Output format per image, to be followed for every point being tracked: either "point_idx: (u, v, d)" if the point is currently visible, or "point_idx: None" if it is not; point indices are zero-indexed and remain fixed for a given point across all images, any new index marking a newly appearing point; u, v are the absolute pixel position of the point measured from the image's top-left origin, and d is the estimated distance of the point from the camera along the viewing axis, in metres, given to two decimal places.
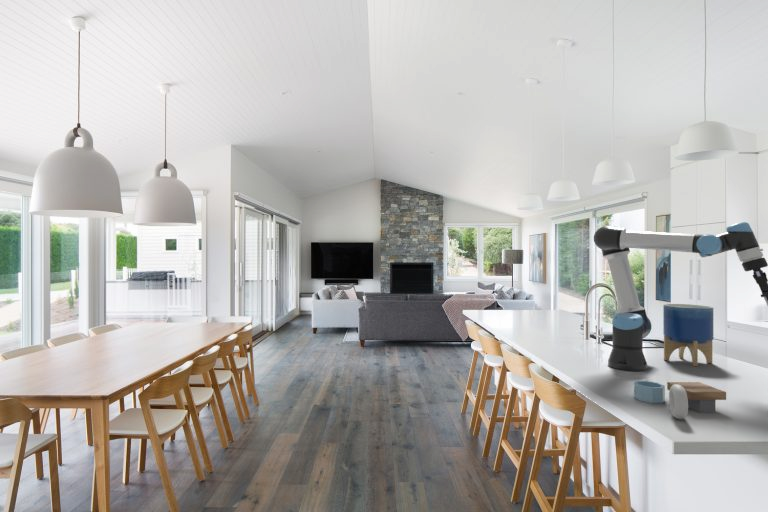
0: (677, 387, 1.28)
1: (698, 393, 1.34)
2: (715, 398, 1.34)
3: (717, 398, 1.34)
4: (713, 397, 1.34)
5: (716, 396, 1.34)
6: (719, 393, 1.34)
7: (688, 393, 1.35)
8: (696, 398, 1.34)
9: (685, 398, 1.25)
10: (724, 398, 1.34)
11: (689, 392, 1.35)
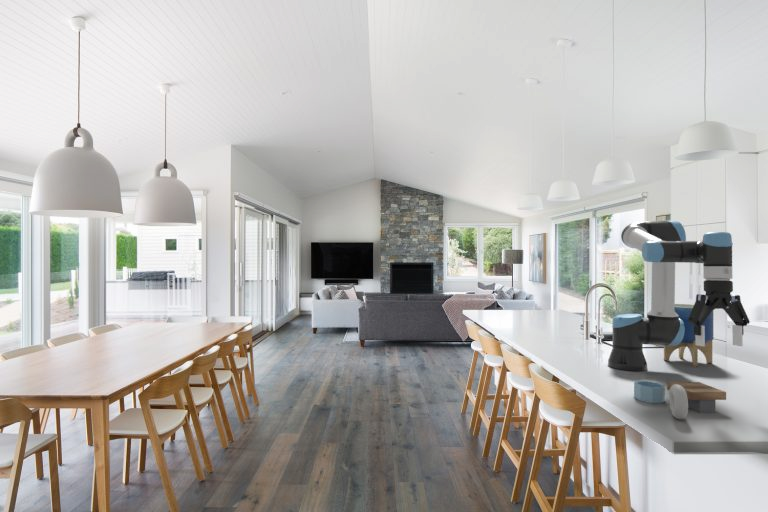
0: (677, 387, 1.28)
1: (698, 393, 1.34)
2: (715, 398, 1.34)
3: (717, 398, 1.34)
4: (713, 397, 1.34)
5: (716, 396, 1.34)
6: (719, 393, 1.34)
7: (688, 393, 1.35)
8: (696, 398, 1.34)
9: (685, 398, 1.25)
10: (724, 398, 1.34)
11: (689, 392, 1.35)
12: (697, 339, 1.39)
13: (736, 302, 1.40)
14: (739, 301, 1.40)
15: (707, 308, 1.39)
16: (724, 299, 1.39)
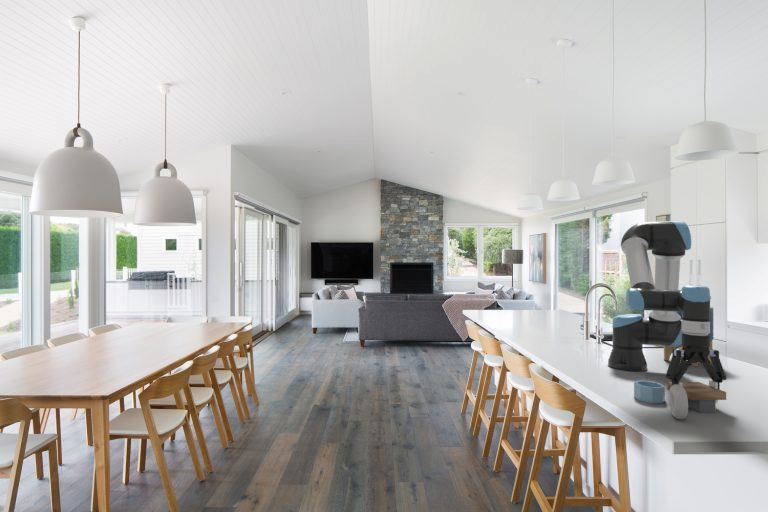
0: (677, 387, 1.28)
1: (698, 393, 1.34)
2: (715, 398, 1.34)
3: (717, 398, 1.34)
4: (713, 397, 1.34)
5: (716, 396, 1.34)
6: (719, 393, 1.34)
7: (688, 393, 1.35)
8: (696, 398, 1.34)
9: (685, 398, 1.25)
10: (724, 398, 1.34)
11: (689, 392, 1.35)
12: None
13: (714, 357, 1.39)
14: (717, 356, 1.39)
15: (684, 363, 1.39)
16: (701, 353, 1.38)
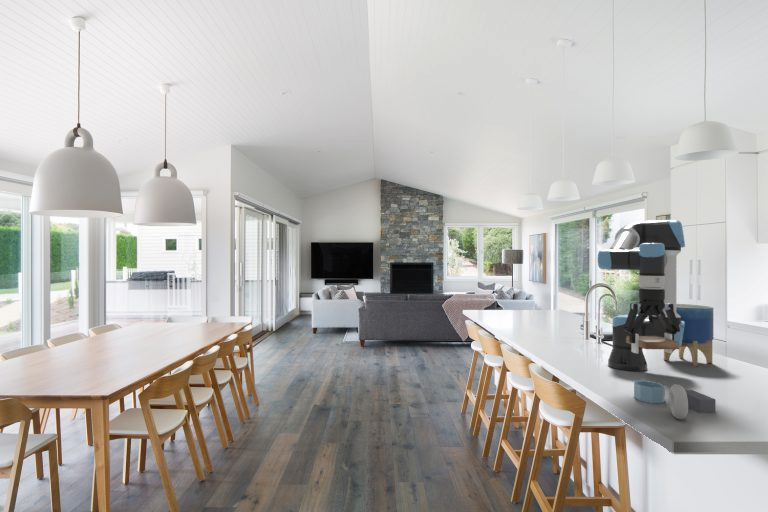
0: (677, 387, 1.28)
1: (653, 343, 1.42)
2: (669, 347, 1.42)
3: (670, 347, 1.42)
4: (667, 346, 1.42)
5: (670, 346, 1.42)
6: (672, 343, 1.42)
7: (643, 343, 1.43)
8: (651, 347, 1.42)
9: (685, 398, 1.25)
10: (677, 347, 1.42)
11: (644, 342, 1.42)
12: (632, 346, 1.48)
13: (669, 310, 1.47)
14: (672, 310, 1.47)
15: (640, 316, 1.47)
16: (656, 306, 1.46)
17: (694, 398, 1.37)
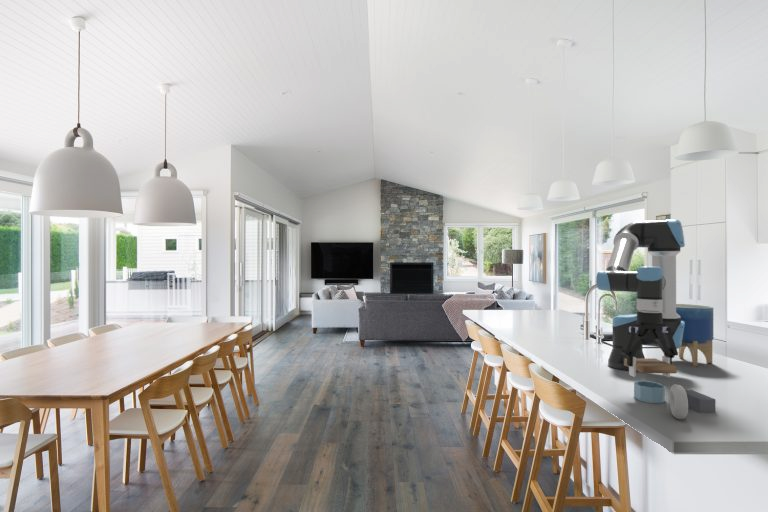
0: (677, 387, 1.28)
1: (650, 367, 1.42)
2: (666, 372, 1.42)
3: (668, 372, 1.42)
4: (664, 370, 1.42)
5: (667, 370, 1.42)
6: (670, 367, 1.42)
7: (641, 367, 1.43)
8: (648, 371, 1.42)
9: (685, 398, 1.25)
10: (674, 372, 1.42)
11: (642, 366, 1.43)
12: (630, 369, 1.48)
13: (667, 334, 1.47)
14: (670, 333, 1.47)
15: (638, 339, 1.47)
16: (654, 330, 1.46)
17: (694, 398, 1.37)
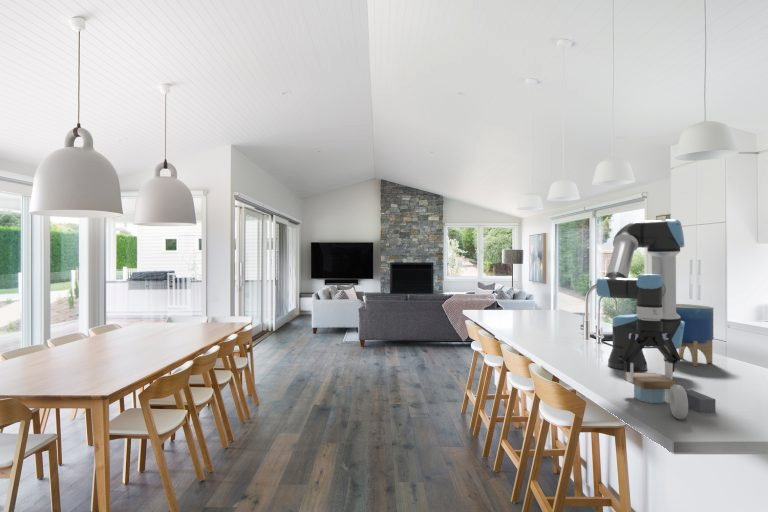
0: (677, 387, 1.28)
1: (650, 383, 1.42)
2: (666, 387, 1.42)
3: (668, 387, 1.42)
4: (664, 386, 1.42)
5: (667, 385, 1.42)
6: (670, 383, 1.42)
7: (641, 383, 1.43)
8: (648, 387, 1.42)
9: (685, 398, 1.25)
10: None
11: (642, 382, 1.43)
12: (627, 375, 1.48)
13: (667, 340, 1.47)
14: (670, 340, 1.47)
15: (637, 346, 1.47)
16: (654, 338, 1.46)
17: (694, 398, 1.37)
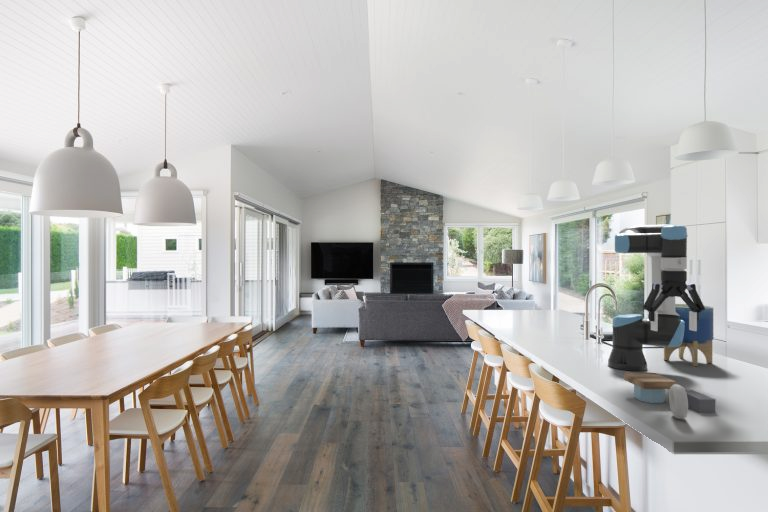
0: (677, 387, 1.28)
1: (650, 383, 1.42)
2: (666, 387, 1.42)
3: (668, 387, 1.42)
4: (664, 386, 1.42)
5: (667, 385, 1.42)
6: (670, 383, 1.42)
7: (641, 383, 1.43)
8: (648, 387, 1.42)
9: (685, 398, 1.25)
10: None
11: (642, 382, 1.43)
12: (652, 324, 1.52)
13: (691, 290, 1.51)
14: (694, 289, 1.50)
15: (661, 296, 1.51)
16: (678, 288, 1.50)
17: (694, 398, 1.37)
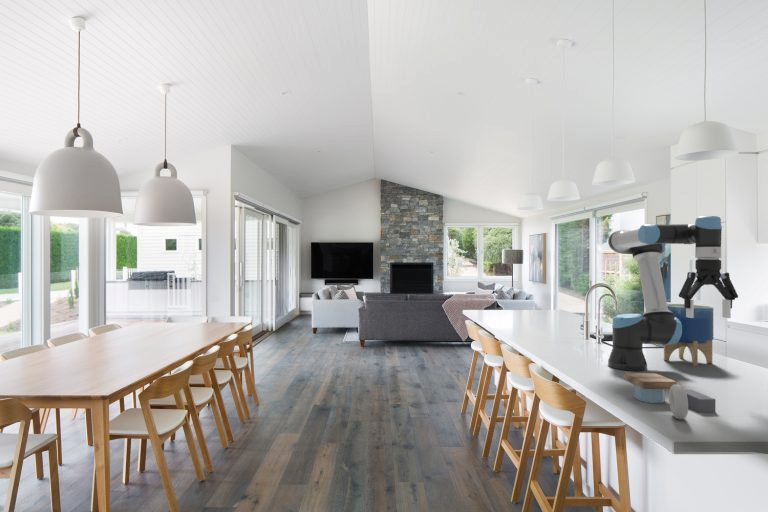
0: (677, 387, 1.28)
1: (650, 383, 1.42)
2: (666, 387, 1.42)
3: (668, 387, 1.42)
4: (664, 386, 1.42)
5: (667, 385, 1.42)
6: (670, 383, 1.42)
7: (641, 383, 1.43)
8: (648, 387, 1.42)
9: (685, 398, 1.25)
10: None
11: (642, 382, 1.43)
12: (687, 312, 1.57)
13: (725, 279, 1.56)
14: (728, 278, 1.56)
15: (697, 284, 1.56)
16: (713, 276, 1.55)
17: (694, 398, 1.37)
